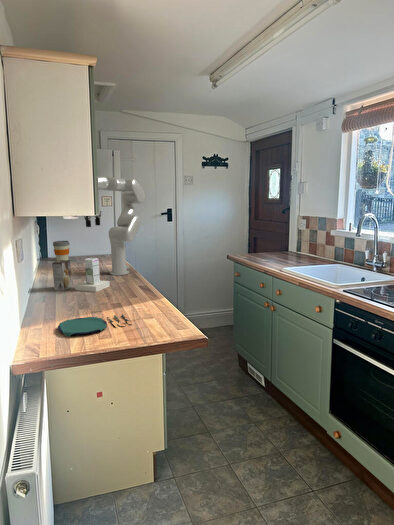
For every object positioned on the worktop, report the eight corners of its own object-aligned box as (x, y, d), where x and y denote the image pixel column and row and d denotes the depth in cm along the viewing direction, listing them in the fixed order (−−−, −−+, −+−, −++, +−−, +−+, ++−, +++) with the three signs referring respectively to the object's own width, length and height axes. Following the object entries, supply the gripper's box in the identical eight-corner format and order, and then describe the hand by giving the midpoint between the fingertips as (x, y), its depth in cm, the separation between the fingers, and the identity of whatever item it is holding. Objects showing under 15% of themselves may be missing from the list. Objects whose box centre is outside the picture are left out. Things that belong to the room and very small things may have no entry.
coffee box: (62, 286, 245) (60, 259, 242) (72, 286, 244) (70, 260, 241) (54, 290, 236) (51, 262, 233) (64, 290, 235) (62, 263, 232)
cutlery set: (54, 325, 177) (54, 320, 177) (123, 316, 190) (122, 311, 190) (61, 341, 160) (61, 335, 159) (136, 329, 173) (136, 324, 172)
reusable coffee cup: (53, 262, 325) (51, 243, 322) (55, 259, 337) (53, 241, 334) (69, 261, 327) (68, 242, 324) (71, 258, 339) (69, 240, 336)
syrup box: (100, 282, 241) (99, 257, 238) (93, 284, 235) (92, 259, 233) (92, 281, 243) (91, 257, 240) (85, 283, 238) (84, 259, 235)
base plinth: (89, 284, 249) (89, 279, 248) (109, 286, 244) (109, 281, 244) (75, 290, 236) (74, 284, 235) (96, 291, 231) (95, 286, 231)
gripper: (94, 197, 257) (96, 224, 260) (77, 198, 241) (79, 227, 244) (104, 197, 255) (106, 224, 258) (88, 198, 239) (90, 227, 242)
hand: (93, 226), depth 251 cm, fingers open, 9 cm apart
